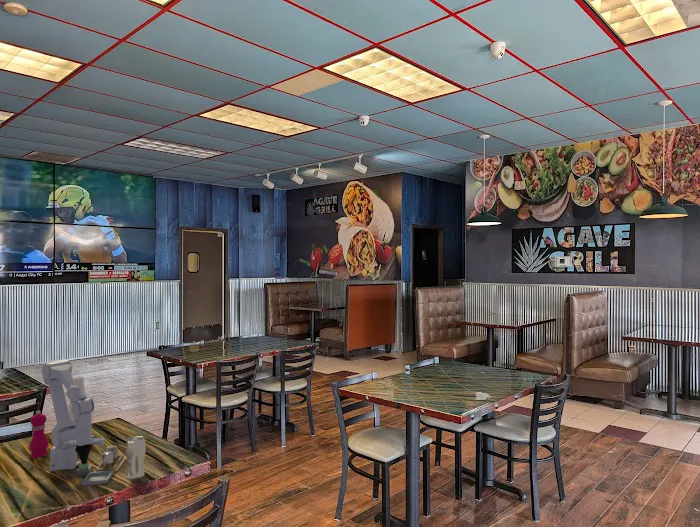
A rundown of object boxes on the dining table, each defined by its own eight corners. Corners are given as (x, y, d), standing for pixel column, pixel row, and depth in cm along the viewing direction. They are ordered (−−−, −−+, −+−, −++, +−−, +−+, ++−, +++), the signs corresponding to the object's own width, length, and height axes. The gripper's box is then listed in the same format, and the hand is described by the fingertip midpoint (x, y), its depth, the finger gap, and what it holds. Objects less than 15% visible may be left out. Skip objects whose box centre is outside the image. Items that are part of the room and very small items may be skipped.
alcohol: (73, 437, 245) (71, 375, 245) (92, 435, 247) (91, 374, 247) (67, 443, 236) (65, 379, 236) (87, 441, 238) (86, 378, 238)
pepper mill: (25, 457, 220) (24, 412, 220) (41, 451, 227) (40, 407, 226) (37, 459, 217) (36, 413, 217) (52, 453, 224) (51, 409, 224)
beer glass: (134, 482, 193) (133, 443, 193) (123, 478, 197) (122, 440, 197) (149, 475, 199) (148, 437, 199) (138, 471, 203) (137, 434, 203)
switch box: (76, 477, 198) (76, 470, 198) (80, 473, 203) (80, 465, 203) (89, 476, 199) (88, 469, 199) (92, 472, 203) (92, 464, 203)
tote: (81, 487, 190) (81, 482, 190) (89, 477, 199) (89, 472, 199) (106, 484, 191) (106, 480, 191) (113, 474, 200) (113, 470, 200)
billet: (100, 470, 202) (100, 455, 202) (103, 466, 206) (103, 451, 206) (111, 469, 203) (111, 454, 203) (114, 465, 206) (114, 451, 206)
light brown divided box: (92, 475, 200) (92, 457, 200) (103, 461, 214) (103, 445, 214) (117, 473, 201) (116, 455, 201) (126, 459, 215) (125, 443, 215)
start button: (79, 475, 199) (79, 465, 199) (82, 472, 202) (81, 462, 202) (87, 474, 200) (87, 464, 200) (89, 472, 202) (89, 461, 202)
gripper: (60, 434, 195) (60, 469, 195) (100, 431, 198) (100, 465, 198) (66, 428, 202) (67, 462, 202) (105, 425, 205) (106, 458, 205)
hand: (84, 463), depth 201 cm, fingers closed, pressing on start button
